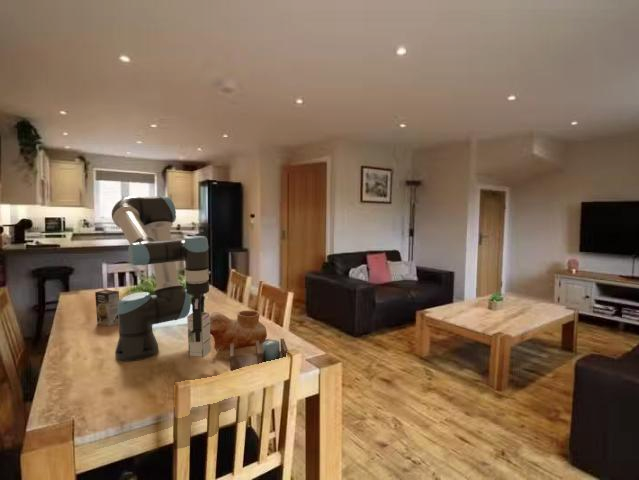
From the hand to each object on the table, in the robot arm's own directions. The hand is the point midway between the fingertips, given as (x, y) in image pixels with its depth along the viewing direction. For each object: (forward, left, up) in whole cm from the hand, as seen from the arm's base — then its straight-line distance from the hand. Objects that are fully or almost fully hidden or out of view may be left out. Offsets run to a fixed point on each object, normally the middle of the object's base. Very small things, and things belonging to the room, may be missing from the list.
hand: (199, 345), depth 127 cm
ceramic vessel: (+12, +20, -9) cm, 25 cm away
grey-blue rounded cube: (+25, 0, -8) cm, 26 cm away
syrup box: (0, 0, -3) cm, 3 cm away
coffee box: (-50, +66, -9) cm, 83 cm away
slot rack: (+20, 0, -9) cm, 22 cm away
